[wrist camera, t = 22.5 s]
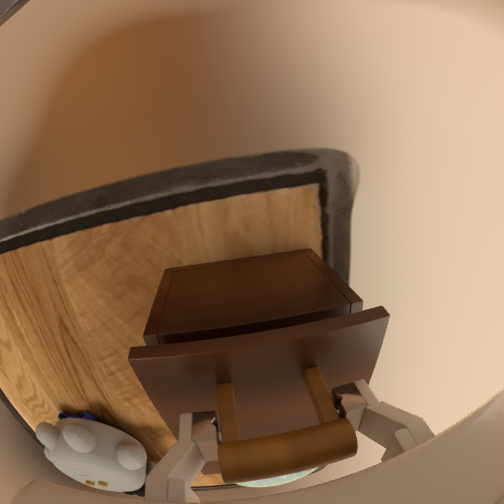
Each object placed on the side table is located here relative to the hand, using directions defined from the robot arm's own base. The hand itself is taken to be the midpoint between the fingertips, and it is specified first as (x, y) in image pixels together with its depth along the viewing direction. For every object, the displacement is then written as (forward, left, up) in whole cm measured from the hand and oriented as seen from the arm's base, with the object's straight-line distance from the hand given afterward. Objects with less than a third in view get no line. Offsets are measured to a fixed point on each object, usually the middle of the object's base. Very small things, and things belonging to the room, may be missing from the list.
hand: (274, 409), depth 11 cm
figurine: (+31, +5, -13) cm, 34 cm away
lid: (+3, +4, -3) cm, 6 cm away
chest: (+3, +4, -13) cm, 14 cm away
